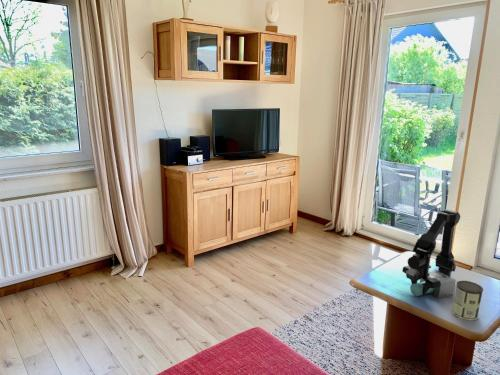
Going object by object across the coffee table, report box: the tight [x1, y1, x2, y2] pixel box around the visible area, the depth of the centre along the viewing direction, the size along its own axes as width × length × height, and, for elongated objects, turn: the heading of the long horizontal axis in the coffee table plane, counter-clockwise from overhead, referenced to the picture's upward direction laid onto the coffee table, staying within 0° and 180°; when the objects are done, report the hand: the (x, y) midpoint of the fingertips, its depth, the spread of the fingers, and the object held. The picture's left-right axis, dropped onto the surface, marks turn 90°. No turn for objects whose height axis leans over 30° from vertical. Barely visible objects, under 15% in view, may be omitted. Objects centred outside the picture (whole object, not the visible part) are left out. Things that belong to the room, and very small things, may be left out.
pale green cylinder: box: [409, 282, 435, 297], centre depth 183 cm, size 13×6×6 cm, turn 113°
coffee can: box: [451, 280, 484, 321], centre depth 165 cm, size 10×10×14 cm
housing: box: [419, 269, 457, 299], centre depth 186 cm, size 11×12×8 cm
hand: (418, 291), depth 182 cm, fingers closed on pale green cylinder, 6 cm apart
